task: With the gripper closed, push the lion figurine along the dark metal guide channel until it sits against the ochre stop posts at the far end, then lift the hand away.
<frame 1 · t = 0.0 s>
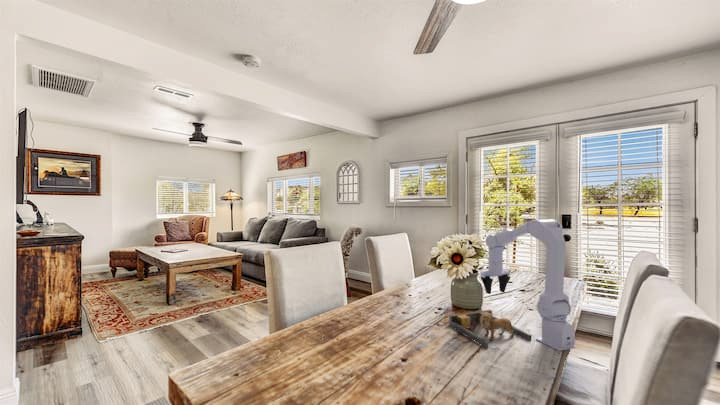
hand: (495, 292, 135), 10 cm above the table, tool pointing down, fingers open, 7 cm apart
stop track: (487, 332, 117), on the table
lion figurine: (496, 337, 113), on the table
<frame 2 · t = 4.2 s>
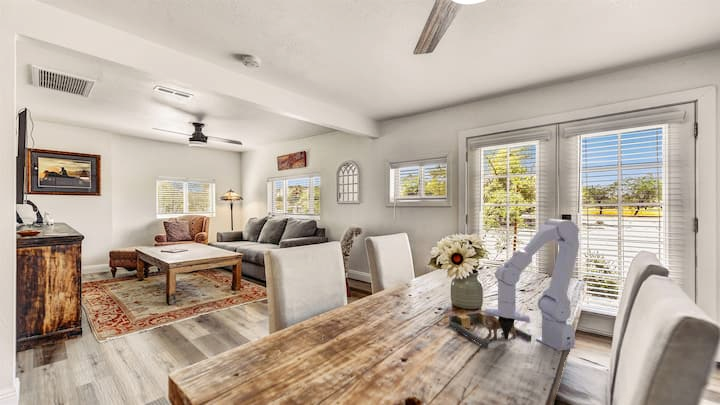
hand: (506, 338, 108), 1 cm above the table, tool pointing down, fingers closed
lion figurine: (499, 337, 113), on the table, touching gripper
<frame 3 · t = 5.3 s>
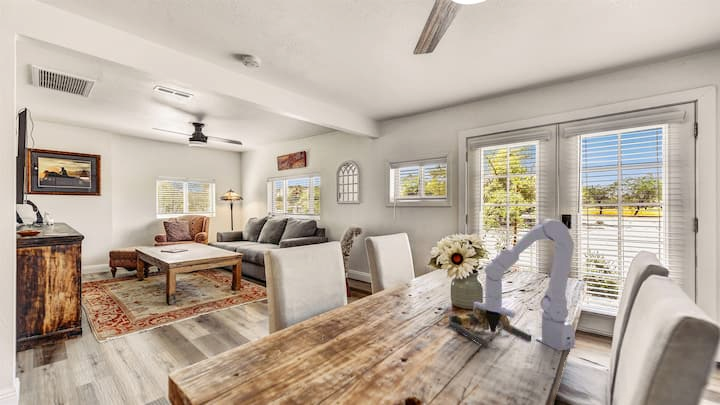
hand: (493, 331, 114), 2 cm above the table, tool pointing down, fingers closed, pressing on lion figurine
lion figurine: (493, 330, 116), point 1 cm above the table, touching gripper, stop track
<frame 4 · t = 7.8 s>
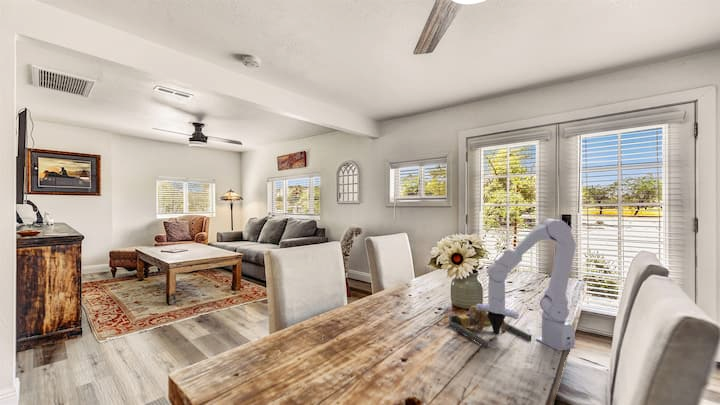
hand: (496, 333, 113), 1 cm above the table, tool pointing down, fingers closed
lion figurine: (487, 330, 119), on the table
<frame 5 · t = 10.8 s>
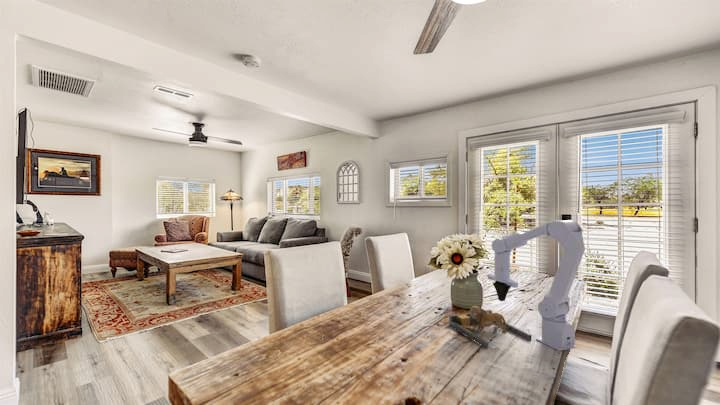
hand: (501, 300, 126), 9 cm above the table, tool pointing down, fingers closed
nothing on the table moved.
at the end: lion figurine 2.7 cm from the target spot, on the table; lion figurine tilted 0°; lion figurine moved 6.5 cm from its start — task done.
